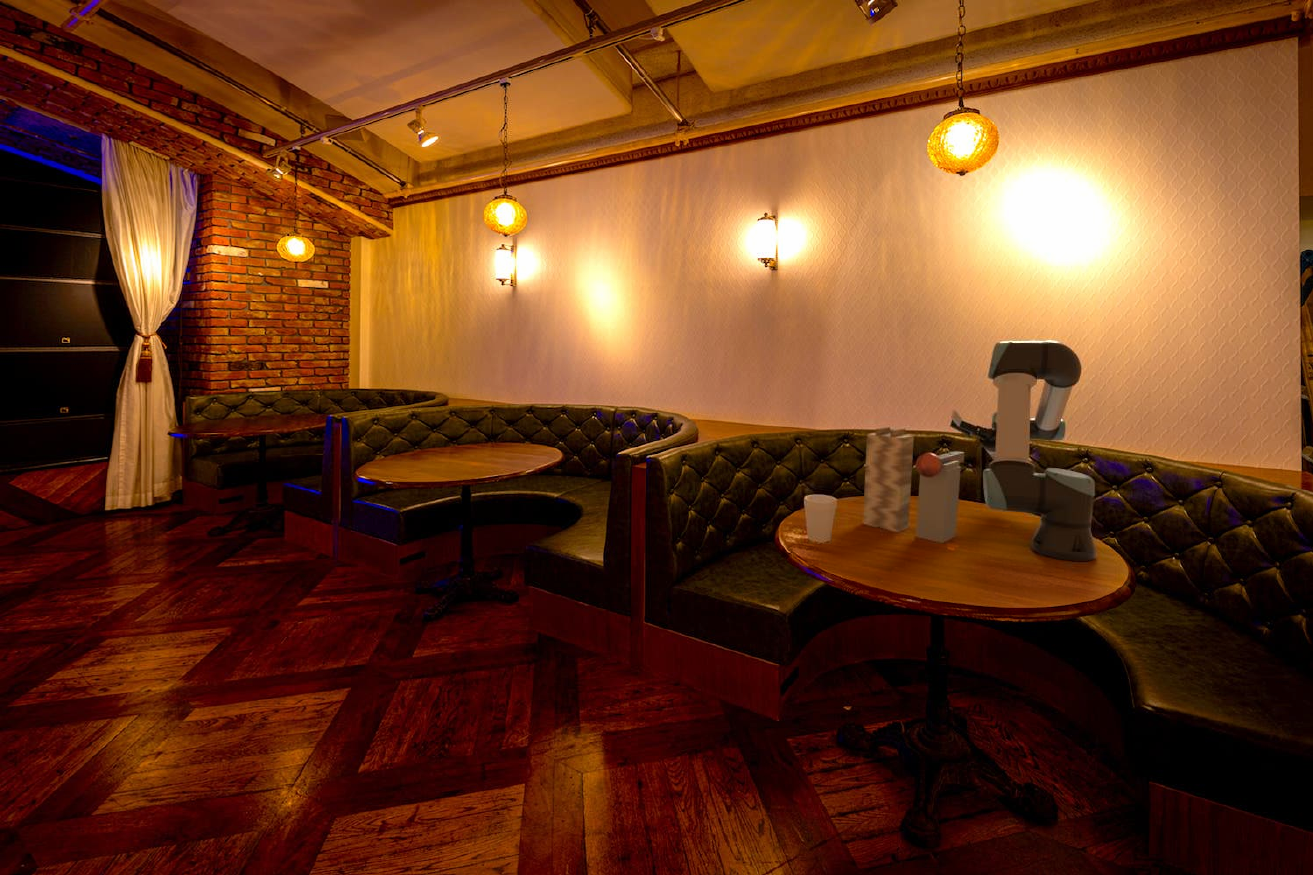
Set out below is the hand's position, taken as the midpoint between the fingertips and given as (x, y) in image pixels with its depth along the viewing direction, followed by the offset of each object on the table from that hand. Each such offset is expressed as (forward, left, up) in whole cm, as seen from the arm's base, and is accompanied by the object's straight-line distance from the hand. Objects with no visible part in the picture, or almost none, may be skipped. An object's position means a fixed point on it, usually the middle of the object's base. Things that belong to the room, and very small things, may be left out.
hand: (974, 415), depth 192 cm
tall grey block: (0, +23, -36) cm, 42 cm away
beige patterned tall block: (+16, +24, -36) cm, 46 cm away
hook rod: (0, +20, -16) cm, 26 cm away
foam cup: (+22, +52, -36) cm, 67 cm away
